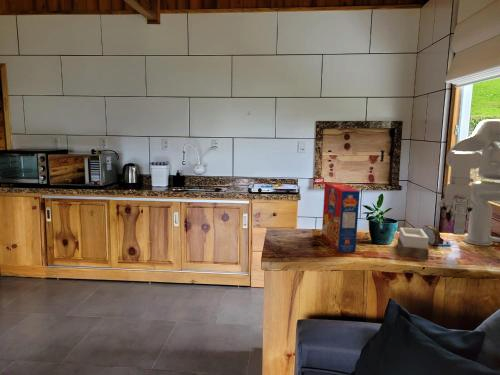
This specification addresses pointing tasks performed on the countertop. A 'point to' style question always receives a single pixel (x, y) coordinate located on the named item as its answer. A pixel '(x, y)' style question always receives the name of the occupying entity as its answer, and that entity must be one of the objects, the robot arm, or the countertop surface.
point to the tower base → (412, 251)
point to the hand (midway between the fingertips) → (455, 221)
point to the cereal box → (340, 216)
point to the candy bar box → (458, 215)
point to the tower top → (413, 238)
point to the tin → (432, 234)
